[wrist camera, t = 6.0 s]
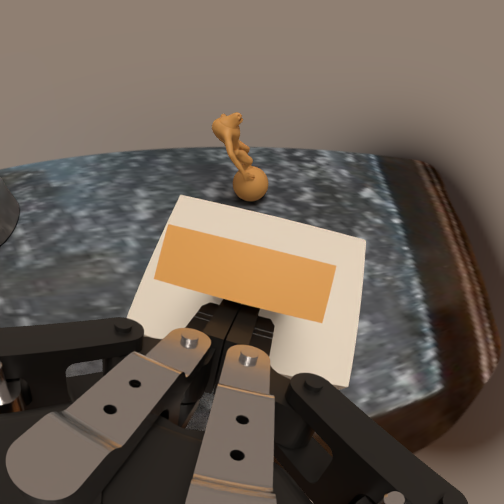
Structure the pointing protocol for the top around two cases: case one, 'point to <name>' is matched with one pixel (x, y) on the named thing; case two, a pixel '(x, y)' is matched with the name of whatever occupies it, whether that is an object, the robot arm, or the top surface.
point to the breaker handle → (245, 273)
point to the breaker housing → (286, 327)
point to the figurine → (240, 159)
